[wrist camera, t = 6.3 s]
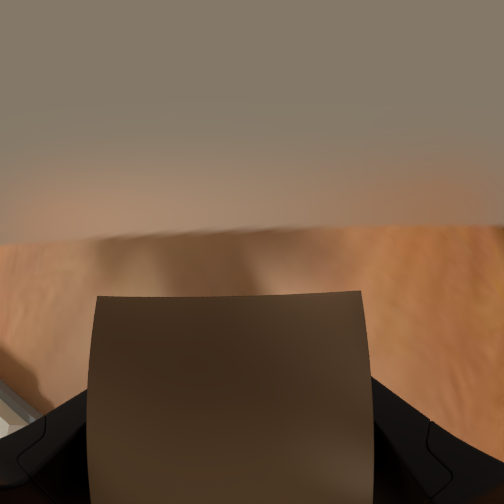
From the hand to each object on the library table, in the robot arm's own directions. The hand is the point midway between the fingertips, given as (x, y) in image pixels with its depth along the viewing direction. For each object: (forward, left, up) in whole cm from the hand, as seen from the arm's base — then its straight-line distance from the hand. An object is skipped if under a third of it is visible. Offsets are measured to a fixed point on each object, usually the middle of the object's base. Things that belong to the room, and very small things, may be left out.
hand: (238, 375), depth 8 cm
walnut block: (0, +1, -7) cm, 7 cm away
